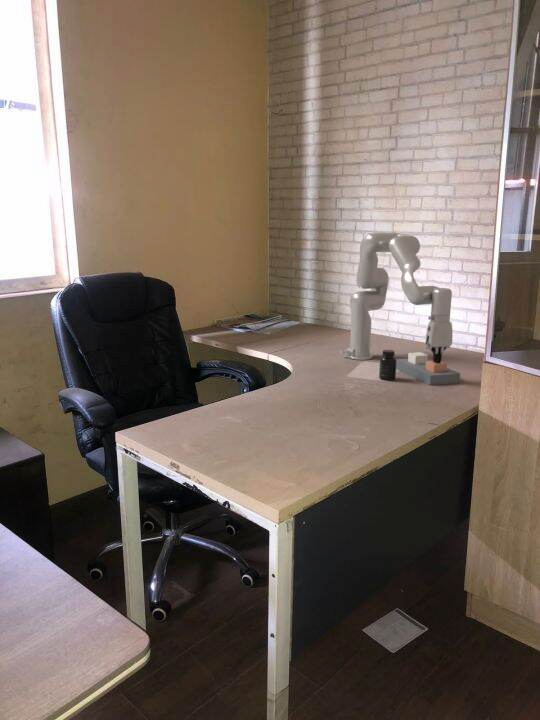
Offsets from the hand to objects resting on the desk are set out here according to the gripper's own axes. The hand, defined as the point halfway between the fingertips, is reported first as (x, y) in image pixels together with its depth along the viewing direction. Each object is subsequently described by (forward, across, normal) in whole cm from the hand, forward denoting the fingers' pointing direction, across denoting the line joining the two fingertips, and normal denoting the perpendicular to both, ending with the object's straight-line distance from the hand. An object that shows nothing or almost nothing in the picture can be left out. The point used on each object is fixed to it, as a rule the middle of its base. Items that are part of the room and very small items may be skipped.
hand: (436, 362), depth 239 cm
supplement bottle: (+7, -19, +6) cm, 21 cm away
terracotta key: (+5, 0, 0) cm, 5 cm away
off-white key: (+5, 0, +14) cm, 15 cm away
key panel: (+7, 0, +7) cm, 10 cm away
